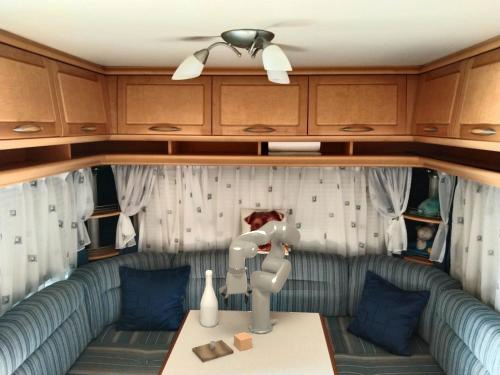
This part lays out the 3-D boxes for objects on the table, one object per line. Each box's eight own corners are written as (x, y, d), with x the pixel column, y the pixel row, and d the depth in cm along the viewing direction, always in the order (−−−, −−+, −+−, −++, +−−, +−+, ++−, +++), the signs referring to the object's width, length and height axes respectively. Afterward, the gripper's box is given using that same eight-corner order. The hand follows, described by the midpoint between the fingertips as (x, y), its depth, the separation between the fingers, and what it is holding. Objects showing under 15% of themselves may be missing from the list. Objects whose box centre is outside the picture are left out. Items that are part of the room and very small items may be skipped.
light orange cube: (245, 342, 223) (245, 332, 222) (251, 348, 218) (251, 337, 217) (234, 345, 220) (234, 335, 219) (240, 351, 215) (240, 340, 214)
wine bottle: (217, 327, 239) (216, 274, 234) (199, 327, 239) (198, 273, 234) (218, 320, 248) (218, 268, 244) (201, 319, 248) (201, 267, 244)
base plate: (221, 342, 223) (221, 333, 222) (233, 353, 213) (233, 343, 212) (192, 351, 215) (192, 341, 214) (203, 362, 204) (202, 352, 204)
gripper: (252, 266, 221) (251, 299, 223) (217, 269, 216) (217, 302, 218) (256, 271, 213) (255, 305, 216) (220, 273, 209) (220, 308, 211)
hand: (236, 304), depth 217 cm, fingers open, 9 cm apart
